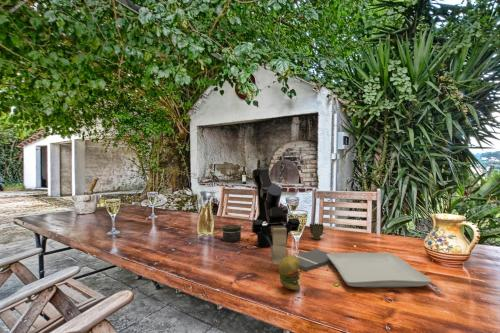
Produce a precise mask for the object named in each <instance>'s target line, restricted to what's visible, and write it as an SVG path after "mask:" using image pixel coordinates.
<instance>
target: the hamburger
mask: <svg viewBox="0 0 500 333" xmlns="http://www.w3.org/2000/svg"><path fill="white" fill-rule="evenodd" d="M282 255H283V256H284V254H282ZM284 257H285V256H284ZM300 266H301V263H300V260H299V259H298V258H297V257H295V256H293V255H288V256H286V257H285V258H284V259H282V260H281V261H280V263H278V272H279V273H278V275H279V277H278V278H279V281H280V283H281V285H282V286H284V287H285V288H286V289H289V290H291V291H299V289H301V285H300V275H301V274H300V271H299V268H300Z"/></svg>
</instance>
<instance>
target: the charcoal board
mask: <svg viewBox="0 0 500 333" xmlns="http://www.w3.org/2000/svg"><path fill="white" fill-rule="evenodd" d="M329 253H330V252H327V251H323V250H321V249H318V248H317V249H313V250H308V251H304V252H301V253H298V259H299V260H300V263H301V266H300V268H299V269H300V270H301V271H304V272H309V271H312V270H315V269H318V268H320V267H325V266H327V265H330V264H333V263H332V262H331V261H330V259H329V258H328V257H327V255H326V254H329ZM296 255H297V254H293V255H292V256H295V257H296ZM299 269H298V270H299Z"/></svg>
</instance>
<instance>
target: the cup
mask: <svg viewBox="0 0 500 333" xmlns="http://www.w3.org/2000/svg"><path fill="white" fill-rule="evenodd" d="M309 231H310V235H311V236H312V238H313V240H317V241H318V240H320V239H321V236H323V233H324V224H323V223H318V222H317V223H316V222H314V223H309Z"/></svg>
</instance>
